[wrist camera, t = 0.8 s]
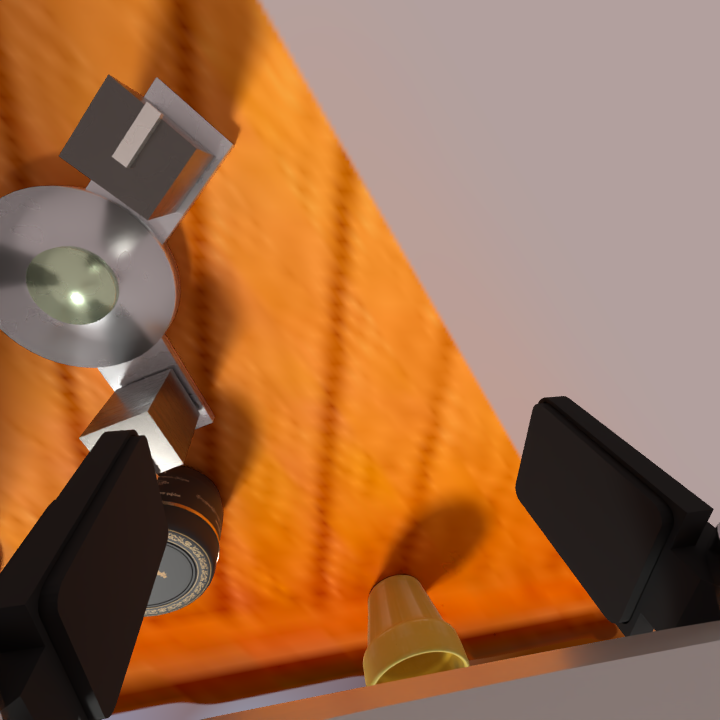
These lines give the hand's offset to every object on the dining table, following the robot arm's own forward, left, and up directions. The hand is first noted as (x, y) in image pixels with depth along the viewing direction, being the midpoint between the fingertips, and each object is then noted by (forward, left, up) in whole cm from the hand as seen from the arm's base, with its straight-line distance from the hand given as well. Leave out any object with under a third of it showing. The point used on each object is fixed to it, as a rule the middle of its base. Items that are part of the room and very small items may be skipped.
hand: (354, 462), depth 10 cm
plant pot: (-4, -39, -23) cm, 46 cm away
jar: (-19, -15, -24) cm, 34 cm away
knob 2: (-14, -5, -22) cm, 27 cm away
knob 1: (-5, +10, -22) cm, 25 cm away
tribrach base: (-14, +3, -23) cm, 27 cm away
